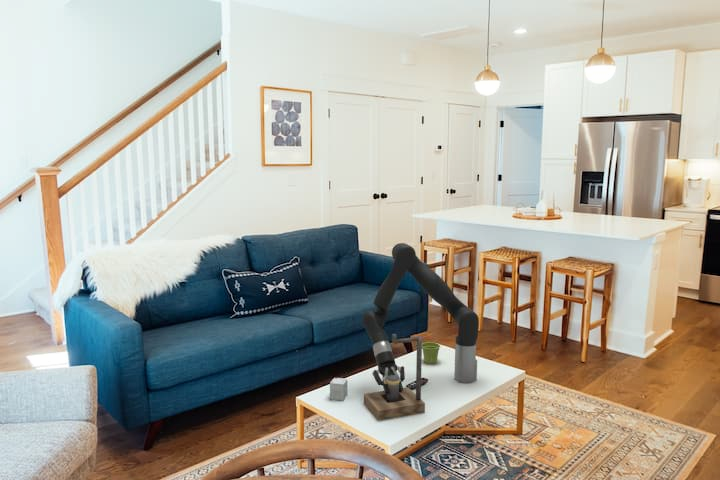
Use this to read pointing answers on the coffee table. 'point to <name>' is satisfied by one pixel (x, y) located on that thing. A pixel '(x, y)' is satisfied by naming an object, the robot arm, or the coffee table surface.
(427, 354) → the plant pot
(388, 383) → the banded grey cylinder
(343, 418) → the coffee table surface
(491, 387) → the coffee table surface
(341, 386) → the skincare box
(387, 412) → the wooden gallows stand
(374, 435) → the coffee table surface
